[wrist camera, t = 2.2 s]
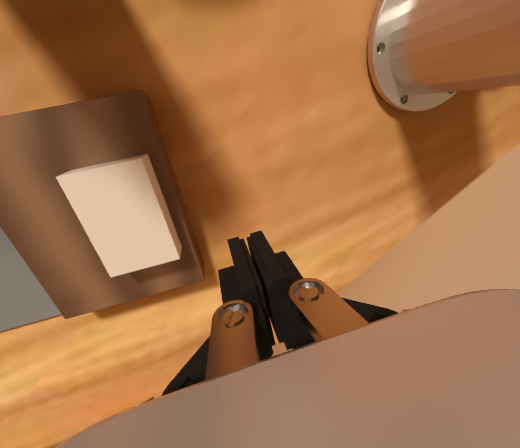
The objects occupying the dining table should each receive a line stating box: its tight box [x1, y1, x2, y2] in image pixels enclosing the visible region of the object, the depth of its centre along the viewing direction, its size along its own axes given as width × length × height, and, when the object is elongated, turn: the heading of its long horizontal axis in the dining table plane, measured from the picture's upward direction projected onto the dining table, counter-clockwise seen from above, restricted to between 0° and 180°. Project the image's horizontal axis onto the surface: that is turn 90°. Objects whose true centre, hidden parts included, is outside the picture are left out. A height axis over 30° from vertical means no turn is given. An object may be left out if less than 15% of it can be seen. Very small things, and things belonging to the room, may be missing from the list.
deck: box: [0, 91, 204, 319], centre depth 23 cm, size 14×18×3 cm
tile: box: [56, 154, 182, 277], centre depth 21 cm, size 6×9×2 cm, turn 11°
